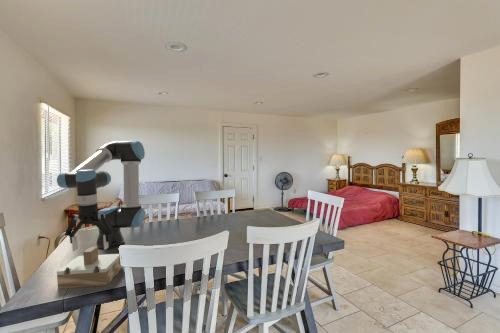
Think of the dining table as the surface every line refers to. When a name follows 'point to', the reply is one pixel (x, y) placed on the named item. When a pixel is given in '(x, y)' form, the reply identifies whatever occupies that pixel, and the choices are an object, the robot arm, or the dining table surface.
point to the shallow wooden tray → (88, 277)
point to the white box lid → (90, 262)
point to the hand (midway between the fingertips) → (90, 249)
